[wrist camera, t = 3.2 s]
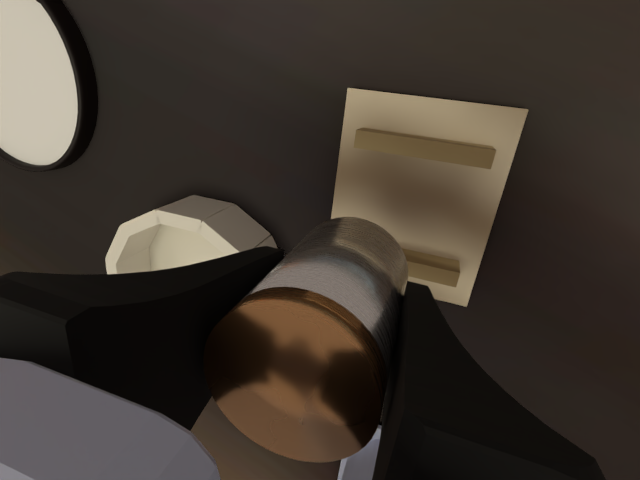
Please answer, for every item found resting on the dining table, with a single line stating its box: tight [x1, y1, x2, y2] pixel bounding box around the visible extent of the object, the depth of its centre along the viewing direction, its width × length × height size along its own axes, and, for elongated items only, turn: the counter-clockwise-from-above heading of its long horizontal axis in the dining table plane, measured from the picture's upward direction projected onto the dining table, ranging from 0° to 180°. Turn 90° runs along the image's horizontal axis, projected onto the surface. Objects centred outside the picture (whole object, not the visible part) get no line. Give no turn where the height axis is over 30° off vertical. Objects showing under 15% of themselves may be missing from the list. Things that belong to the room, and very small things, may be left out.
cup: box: [105, 195, 277, 274], centre depth 24 cm, size 11×11×4 cm
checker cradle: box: [331, 88, 529, 307], centre depth 18 cm, size 10×8×2 cm
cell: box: [203, 217, 408, 463], centre depth 10 cm, size 4×4×6 cm
